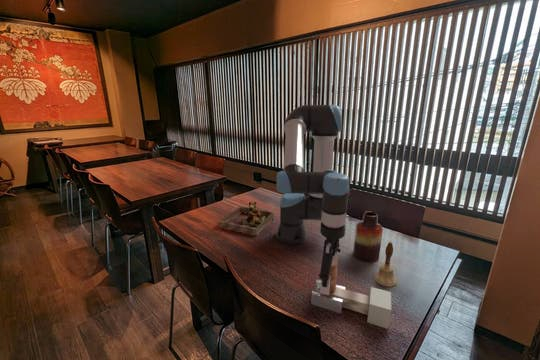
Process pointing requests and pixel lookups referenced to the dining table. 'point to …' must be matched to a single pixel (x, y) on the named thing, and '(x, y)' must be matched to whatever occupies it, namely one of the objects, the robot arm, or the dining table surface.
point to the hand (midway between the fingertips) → (328, 279)
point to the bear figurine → (253, 216)
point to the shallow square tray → (249, 230)
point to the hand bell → (386, 270)
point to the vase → (368, 238)
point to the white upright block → (379, 308)
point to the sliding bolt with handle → (348, 294)
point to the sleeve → (326, 299)
